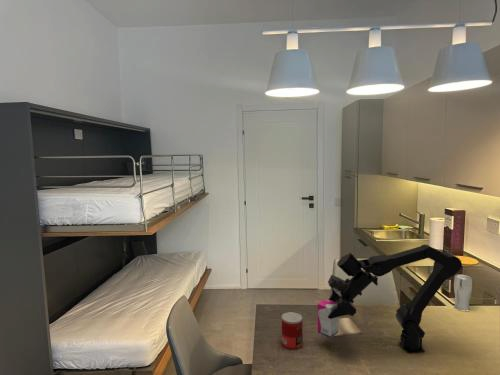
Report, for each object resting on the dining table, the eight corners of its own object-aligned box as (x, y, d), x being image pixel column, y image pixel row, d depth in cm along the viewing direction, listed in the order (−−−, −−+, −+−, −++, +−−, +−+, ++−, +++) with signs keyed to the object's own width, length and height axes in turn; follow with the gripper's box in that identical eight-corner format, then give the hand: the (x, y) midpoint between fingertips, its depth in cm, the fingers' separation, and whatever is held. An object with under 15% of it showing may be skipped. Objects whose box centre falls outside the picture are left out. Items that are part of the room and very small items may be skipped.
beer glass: (454, 303, 160) (455, 273, 158) (471, 307, 155) (473, 276, 154) (451, 309, 154) (453, 277, 153) (469, 313, 150) (471, 281, 148)
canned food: (300, 351, 125) (300, 323, 124) (279, 347, 128) (279, 320, 126) (304, 340, 132) (304, 313, 131) (284, 337, 135) (284, 310, 134)
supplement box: (339, 331, 128) (339, 302, 126) (330, 338, 124) (330, 308, 122) (326, 326, 132) (326, 298, 131) (317, 332, 128) (316, 303, 127)
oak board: (349, 320, 148) (349, 317, 148) (361, 334, 136) (361, 332, 136) (322, 322, 147) (322, 319, 146) (332, 337, 135) (332, 334, 135)
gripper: (336, 261, 134) (309, 287, 136) (346, 278, 115) (314, 309, 118) (357, 280, 134) (329, 306, 136) (370, 301, 116) (337, 331, 118)
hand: (327, 312), depth 127 cm, fingers closed on supplement box, 8 cm apart
